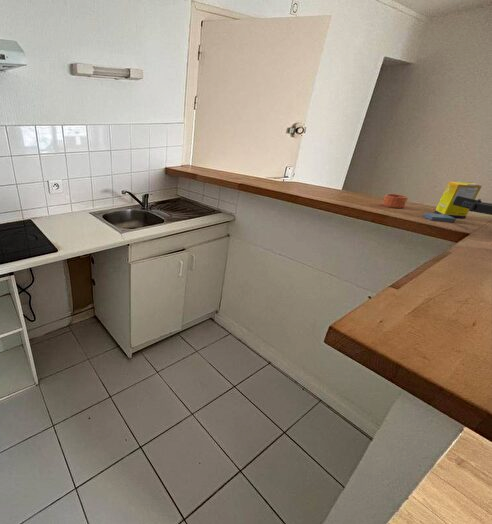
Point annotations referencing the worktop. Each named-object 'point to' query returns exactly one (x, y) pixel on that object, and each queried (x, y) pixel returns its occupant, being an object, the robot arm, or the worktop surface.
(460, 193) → the supplement box
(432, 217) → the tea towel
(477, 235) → the worktop surface
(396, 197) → the ramekin
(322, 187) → the worktop surface
